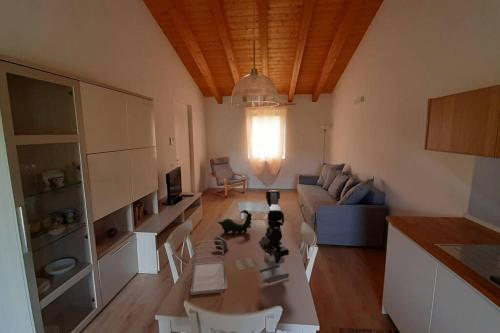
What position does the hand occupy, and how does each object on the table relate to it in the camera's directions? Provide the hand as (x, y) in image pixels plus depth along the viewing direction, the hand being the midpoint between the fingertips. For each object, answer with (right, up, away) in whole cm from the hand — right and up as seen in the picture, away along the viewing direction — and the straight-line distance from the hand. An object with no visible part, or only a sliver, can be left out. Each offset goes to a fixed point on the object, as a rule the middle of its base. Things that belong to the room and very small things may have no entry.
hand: (274, 260), depth 130 cm
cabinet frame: (0, -8, +1) cm, 9 cm away
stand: (-15, -7, +10) cm, 20 cm away
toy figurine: (-24, -1, +54) cm, 60 cm away
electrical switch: (-31, -5, +27) cm, 42 cm away
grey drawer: (0, -1, 0) cm, 1 cm away
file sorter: (-34, -9, -1) cm, 36 cm away
